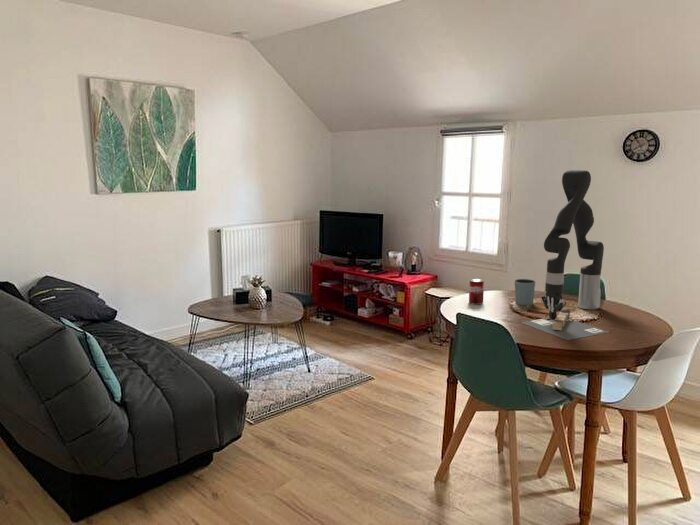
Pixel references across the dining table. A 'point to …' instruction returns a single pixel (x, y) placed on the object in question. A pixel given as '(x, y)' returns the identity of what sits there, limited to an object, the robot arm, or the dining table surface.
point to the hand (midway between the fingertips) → (552, 319)
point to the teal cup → (524, 291)
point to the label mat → (566, 329)
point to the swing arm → (561, 319)
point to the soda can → (476, 291)
